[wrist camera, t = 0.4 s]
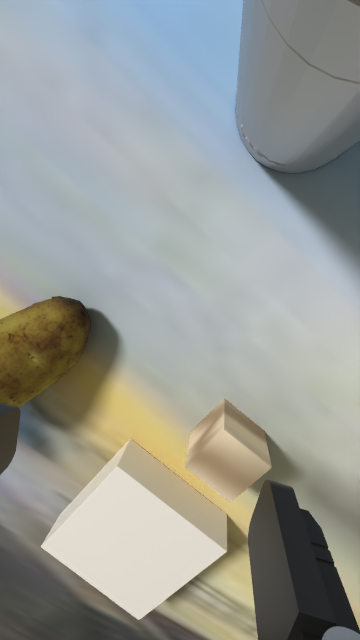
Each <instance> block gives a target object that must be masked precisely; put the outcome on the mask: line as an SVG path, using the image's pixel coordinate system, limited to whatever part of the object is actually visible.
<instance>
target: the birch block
mask: <svg viewBox="0 0 360 640" xmlns="http://www.w3.org/2000/svg"><path fill="white" fill-rule="evenodd" d="M185 468H187V469H188V470H189V471H190V472H192V473H193V474H194V475H195V476H197V477H198V478H199V479H201V480H202V481H203V482H204V483H206V484H207V485H208V486H209V487H211V488H212V489H213V490H214V491H216V492H217V493H218V494H220V495H221V496H222V497H223V498H225V499H226V500H227V501H228V502H230V503H231V502H232V501H233V500H234V499H235V498H237V497H238V496H239V495H240V494H241V493H242V492H244V491H245V490H246V489H247V488H248V487H250V486H251V485H252V484H253V483H254V482H256V481H257V480H258V479H259V478H260V477H261V476H263V475H264V474H265V473H266V472H267V471H269V470H270V469H271V468H272V466H271V461H270V456H269V451H268V446H267V441H266V436H265V431H264V430H263V429H261V428H260V427H259V426H258V425H257V424H255V423H254V422H253V421H252V420H250V419H249V418H248V417H247V416H245V415H244V414H243V413H242V412H241V411H239V410H238V409H237V408H236V407H234V406H233V405H232V404H231V403H229V402H228V401H227V400H226V399H225V398H224V399H223V400H222V401H221V402H220V403H219V404H218V405H217V406H216V407H215V408H214V409H213V410H212V411H211V412H210V413H209V414H208V415H207V416H206V417H205V418H204V419H203V420H202V421H201V422H200V423H199V424H198V425H197V426H196V427H195V428H194V429H193V430H192V431H191V434H190V440H189V445H188V451H187V456H186V462H185Z"/></svg>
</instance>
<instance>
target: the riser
mask: <svg viewBox="0 0 360 640" xmlns="http://www.w3.org/2000/svg"><path fill="white" fill-rule="evenodd" d="M41 547H42V548H43V549H44V550H46V551H47V552H48V553H50V554H51V555H52V556H54V557H55V558H56V559H58V560H59V561H60V562H62V563H63V564H64V565H66V566H67V567H68V568H70V569H71V570H72V571H74V572H75V573H76V574H78V575H79V576H80V577H82V578H83V579H84V580H86V581H87V582H88V583H90V584H91V585H92V586H94V587H95V588H97V589H98V590H99V591H101V592H102V593H103V594H105V595H106V596H107V597H109V598H110V599H111V600H113V601H114V602H115V603H117V604H118V605H119V606H121V607H122V608H123V609H125V610H126V611H127V612H129V613H130V614H131V615H133V616H134V617H135V618H137V619H138V620H140V619H141V618H142V617H144V616H145V615H146V614H147V613H149V612H150V611H151V610H153V609H154V608H155V607H156V606H158V605H159V604H160V603H162V602H163V601H164V600H165V599H167V598H168V597H169V596H171V595H172V594H173V593H174V592H176V591H177V590H178V589H180V588H181V587H182V586H183V585H185V584H186V583H187V582H189V581H190V580H191V579H192V578H194V577H195V576H196V575H198V574H199V573H200V572H201V571H203V570H204V569H205V568H207V567H208V566H209V565H210V564H212V563H213V562H214V561H216V560H217V559H218V558H219V557H221V556H222V555H223V554H224V553H226V552H227V514H225V513H224V512H223V511H222V510H220V509H219V508H218V507H217V506H215V505H214V504H213V503H211V502H210V501H209V500H208V499H206V498H205V497H204V496H203V495H201V494H200V493H199V492H198V491H196V490H195V489H194V488H192V487H191V486H190V485H189V484H187V483H186V482H185V481H184V480H182V479H181V478H180V477H178V476H177V475H176V474H175V473H173V472H172V471H171V470H170V469H168V468H167V467H166V466H164V465H163V464H162V463H161V462H159V461H158V460H157V459H156V458H154V457H153V456H152V455H150V454H149V453H148V452H147V451H145V450H144V449H143V448H142V447H140V446H139V445H138V444H137V443H135V442H134V441H133V440H131V439H129V440H128V442H127V443H126V444H125V445H124V446H123V447H122V448H121V449H120V450H119V451H118V452H117V453H116V455H115V456H114V457H113V458H112V459H111V460H110V461H109V462H108V463H107V464H106V465H105V466H104V467H103V469H102V470H101V471H100V472H99V473H98V474H97V475H96V476H95V477H94V478H93V479H92V480H91V482H90V483H89V484H88V485H87V486H86V487H85V488H84V489H83V490H82V491H81V492H80V493H79V494H78V496H77V497H76V498H75V499H74V500H73V501H72V502H71V503H70V504H69V505H68V506H67V507H66V509H65V510H64V511H63V512H62V513H61V514H60V516H59V517H58V519H57V521H56V522H55V524H54V526H53V527H52V529H51V531H50V532H49V534H48V536H47V537H46V539H45V541H44V542H43V544H42V546H41Z"/></svg>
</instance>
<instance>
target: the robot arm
mask: <svg viewBox="0 0 360 640" xmlns="http://www.w3.org/2000/svg"><path fill="white" fill-rule="evenodd" d="M235 113H236V123H237V128H238V131H239V134H240V137H241V140H242V141H243V143H244V145H245V147H246V148H247V150H248V151H249V152H250V153H251V155H252V156H253V157H254V158H255V159H256V160H257V161H259V162H260V163H262V164H263V165H265V166H266V167H268V168H271V169H274V170H276V171H279V172H287V173H299V172H306V171H310V170H313V169H316V168H319V167H321V166H323V165H324V164H326V163H328V162H330V161H332V160H333V159H334V158H336V157H337V156H339V155H340V154H341V153H343V152H344V151H345V150H347V149H348V148H350V147H351V146H353V145H354V144H355V143H357V142H358V141H359V140H360V0H243V11H242V25H241V38H240V52H239V65H238V77H237V94H236V108H235ZM19 421H20V409H19V408H18V407H15V406H12V405H8V404H5V403H1V402H0V474H1V473H2V472H3V471H4V470H5V469H6V468H7V467H8V466H9V464H10V462H11V461H12V459H13V457H14V454H15V451H16V445H17V437H18V429H19ZM248 546H249V556H250V565H251V575H252V584H253V594H254V604H255V613H256V623H257V632H258V640H360V630H359V627H358V625H357V622H356V619H355V617H354V614H353V611H352V609H351V606H350V603H349V601H348V598H347V595H346V593H345V590H344V587H343V585H342V582H341V579H340V577H339V574H338V572H337V569H336V567H334V561H333V558H332V556H331V553H330V551H329V550H328V545H327V542H326V540H325V537H324V534H323V532H322V529H321V527H320V526H319V525H318V523H317V522H316V521H315V519H314V518H313V517H312V515H311V514H310V513H309V511H307V510H303V509H300V508H299V505H298V502H297V499H296V496H295V492H294V490H293V488H292V487H290V486H287V485H283V484H280V483H276V482H273V481H269V480H266V481H265V482H264V484H263V487H262V489H261V492H260V495H259V498H258V501H257V504H256V507H255V509H254V512H253V515H252V518H251V521H250V526H249V533H248Z"/></svg>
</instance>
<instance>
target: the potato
mask: <svg viewBox="0 0 360 640" xmlns="http://www.w3.org/2000/svg"><path fill="white" fill-rule="evenodd" d="M90 323H91V322H90V316H89V314H88V312H87V310H86V308H85V306H84V305H83V304H82V303H81V302H80V301H77V300H75V299H71V298H65V297H61V296H57V297H52V298H51V299H48V300H45V301H42V302H39V303H35V304H33V305H32V306H30V307H28V308H25V309H23V310H20V311H18V312H16V313H14V314H11V315H9V316H7V317H4V318H2V319H0V402H1V403H5V404H8V405H12V406H15V407H18V408H19V407H20V406H22V405H23V404H25V403H26V402H28V401H30V400H31V399H33V398H35V397H36V396H38V395H39V394H40V393H42V392H43V391H44V390H45V389H47V388H48V387H49V386H50V385H51V384H53V383H54V382H56V381H57V380H58V379H60V378H61V377H62V376H63V375H64V374H65V373H66V372H67V371H69V370H70V369H71V368H72V366H73V365H74V364H75V363H76V362H77V360H78V359H79V358H80V356H81V355H82V353H83V350H84V348H85V345H86V342H87V338H88V334H89V329H90Z"/></svg>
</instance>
